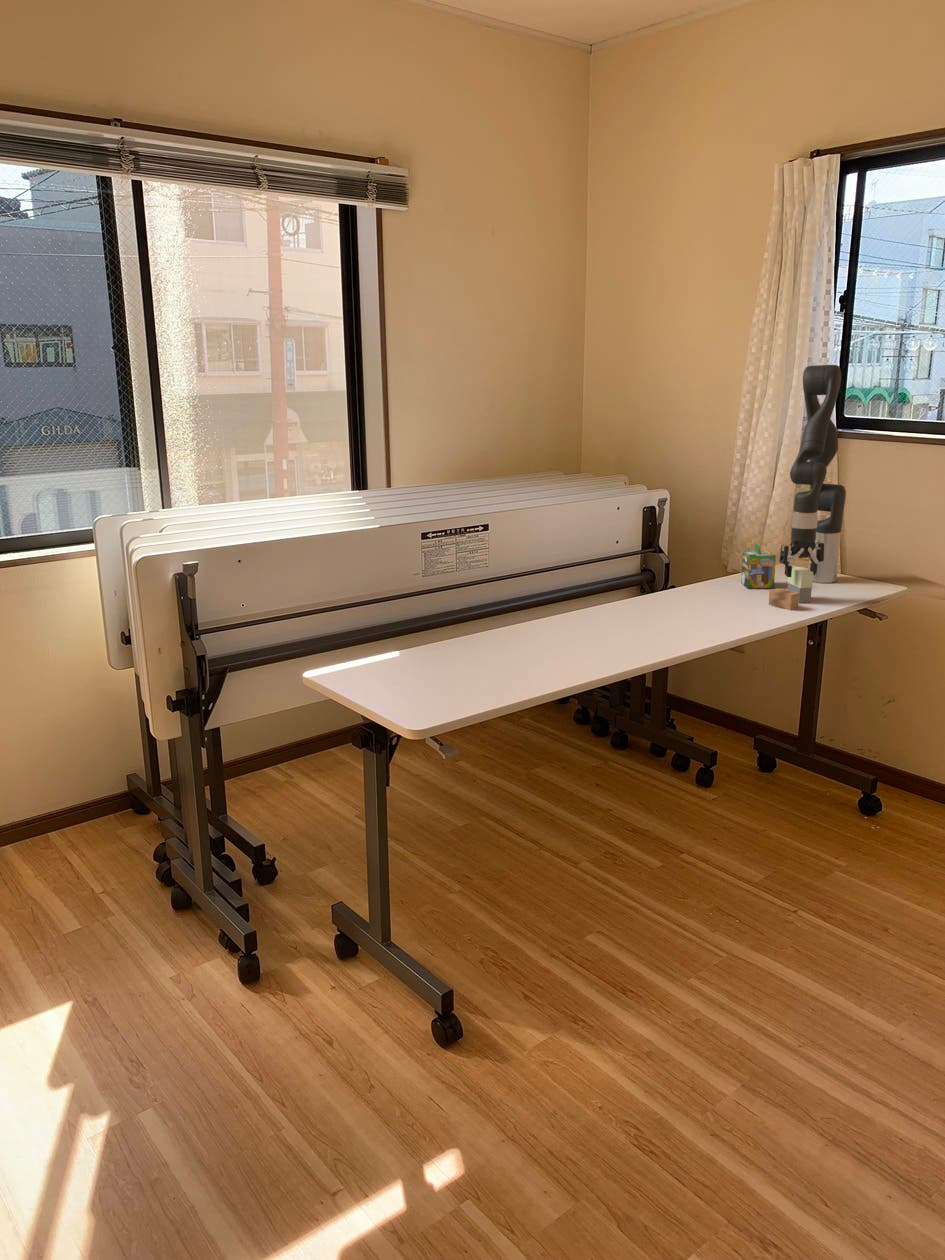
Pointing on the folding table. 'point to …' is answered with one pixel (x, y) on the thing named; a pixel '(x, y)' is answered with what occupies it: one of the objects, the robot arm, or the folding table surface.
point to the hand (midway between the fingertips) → (800, 575)
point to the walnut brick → (783, 599)
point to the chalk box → (758, 569)
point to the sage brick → (801, 577)
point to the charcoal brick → (801, 593)
